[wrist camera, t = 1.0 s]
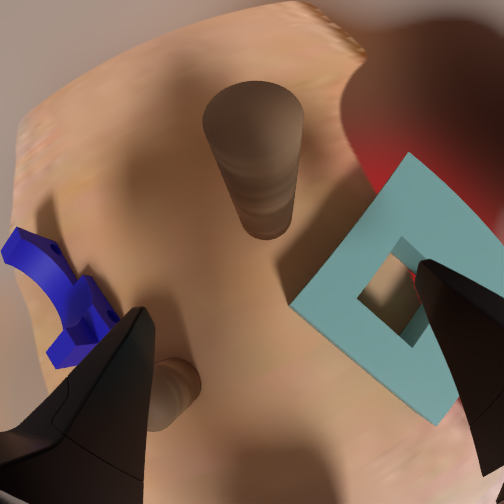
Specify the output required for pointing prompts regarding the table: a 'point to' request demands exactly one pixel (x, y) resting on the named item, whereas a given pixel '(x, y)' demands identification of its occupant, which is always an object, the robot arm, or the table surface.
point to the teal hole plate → (410, 254)
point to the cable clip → (63, 296)
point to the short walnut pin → (171, 392)
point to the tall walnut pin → (257, 152)
